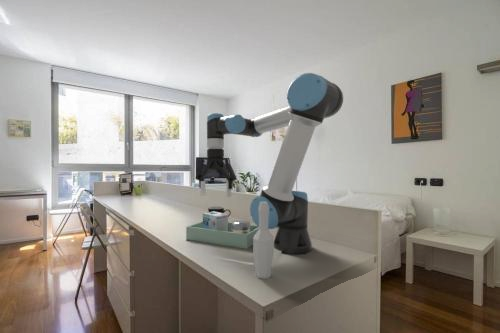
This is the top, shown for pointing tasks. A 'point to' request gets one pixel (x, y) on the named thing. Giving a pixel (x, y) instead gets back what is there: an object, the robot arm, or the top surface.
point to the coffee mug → (218, 209)
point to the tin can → (240, 226)
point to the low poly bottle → (263, 244)
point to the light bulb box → (215, 221)
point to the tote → (221, 235)
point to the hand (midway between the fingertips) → (215, 196)
